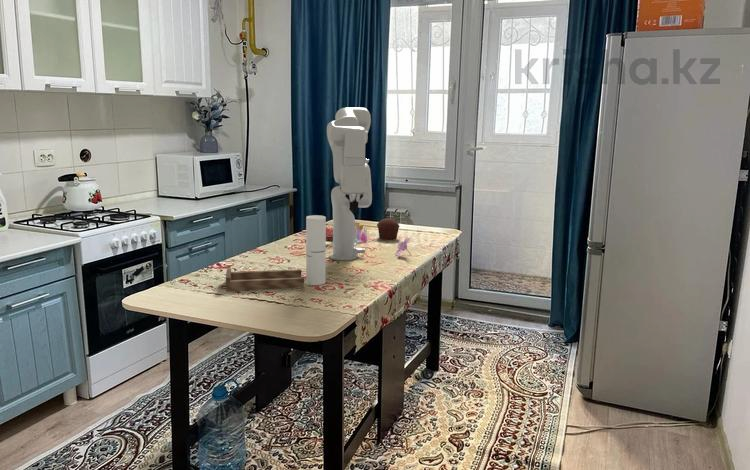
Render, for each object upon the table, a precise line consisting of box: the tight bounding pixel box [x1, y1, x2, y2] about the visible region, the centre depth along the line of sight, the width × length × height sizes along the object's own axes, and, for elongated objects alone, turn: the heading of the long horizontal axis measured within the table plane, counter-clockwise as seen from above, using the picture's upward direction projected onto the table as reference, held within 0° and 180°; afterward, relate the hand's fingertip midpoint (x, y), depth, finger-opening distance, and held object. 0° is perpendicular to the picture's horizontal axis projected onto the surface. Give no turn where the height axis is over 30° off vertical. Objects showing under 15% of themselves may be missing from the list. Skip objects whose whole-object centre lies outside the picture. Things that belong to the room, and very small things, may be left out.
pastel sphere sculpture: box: [326, 221, 368, 247], centre depth 277 cm, size 25×24×9 cm
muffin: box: [376, 217, 400, 241], centre depth 284 cm, size 12×11×10 cm
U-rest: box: [225, 267, 305, 292], centre depth 208 cm, size 28×12×5 cm, turn 102°
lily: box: [394, 236, 412, 259], centre depth 252 cm, size 11×11×9 cm
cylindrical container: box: [305, 214, 327, 286], centre depth 209 cm, size 7×7×25 cm
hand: (353, 211), depth 209 cm, fingers closed
